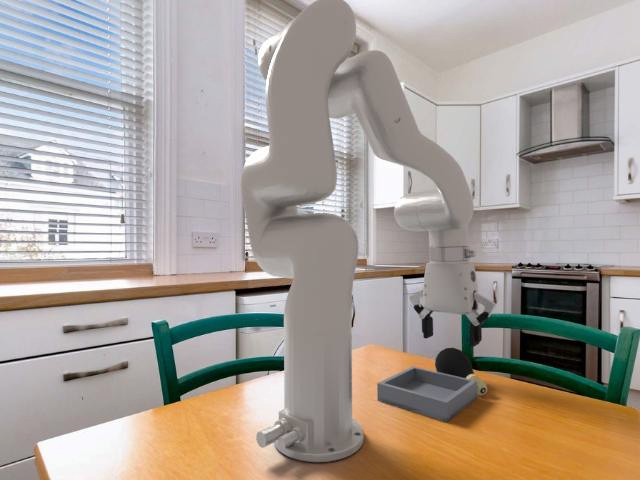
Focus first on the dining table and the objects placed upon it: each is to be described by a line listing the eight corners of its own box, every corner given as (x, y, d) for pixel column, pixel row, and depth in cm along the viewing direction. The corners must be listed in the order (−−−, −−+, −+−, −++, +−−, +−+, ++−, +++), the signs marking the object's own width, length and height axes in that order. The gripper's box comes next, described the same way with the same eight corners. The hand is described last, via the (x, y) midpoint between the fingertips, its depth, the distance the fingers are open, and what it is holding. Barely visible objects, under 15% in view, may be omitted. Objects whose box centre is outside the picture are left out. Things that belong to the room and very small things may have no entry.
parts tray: (446, 422, 58) (446, 402, 58) (377, 400, 67) (377, 383, 67) (477, 397, 68) (477, 380, 68) (412, 381, 76) (412, 366, 76)
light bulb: (491, 366, 67) (449, 336, 79) (461, 389, 67) (424, 355, 78) (503, 392, 70) (461, 358, 81) (475, 414, 69) (436, 377, 80)
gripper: (500, 255, 74) (502, 343, 74) (418, 254, 86) (420, 331, 86) (486, 257, 68) (488, 353, 68) (401, 256, 80) (403, 338, 80)
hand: (450, 340), depth 77 cm, fingers open, 9 cm apart
